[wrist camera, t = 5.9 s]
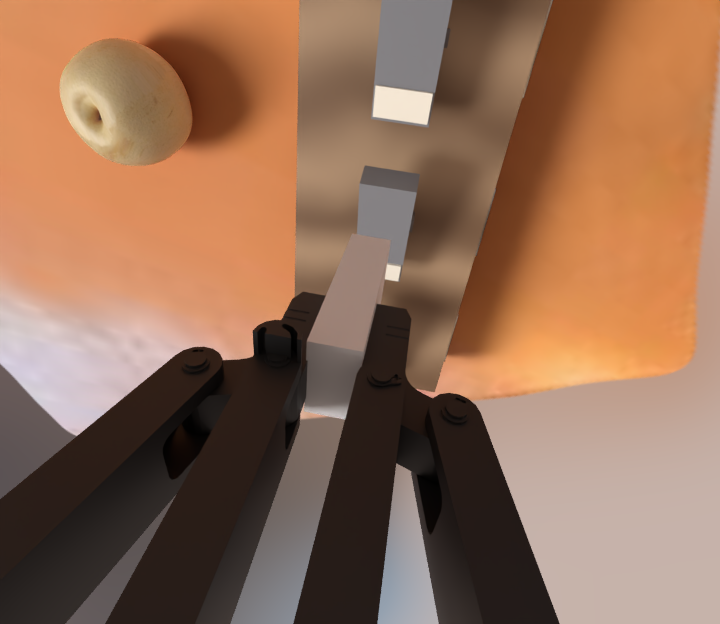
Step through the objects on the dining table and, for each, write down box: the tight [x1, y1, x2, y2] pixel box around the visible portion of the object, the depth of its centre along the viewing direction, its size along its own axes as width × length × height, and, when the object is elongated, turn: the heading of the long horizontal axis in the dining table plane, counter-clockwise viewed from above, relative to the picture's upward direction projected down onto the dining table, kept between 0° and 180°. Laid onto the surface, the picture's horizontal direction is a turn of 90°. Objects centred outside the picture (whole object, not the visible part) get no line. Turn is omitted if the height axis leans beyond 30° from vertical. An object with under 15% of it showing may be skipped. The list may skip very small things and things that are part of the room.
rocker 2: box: [357, 166, 420, 282], centre depth 28 cm, size 8×3×2 cm, turn 173°
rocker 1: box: [371, 0, 453, 128], centre depth 21 cm, size 8×3×2 cm, turn 173°
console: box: [295, 0, 553, 392], centre depth 31 cm, size 32×13×6 cm, turn 174°
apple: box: [60, 39, 192, 166], centre depth 30 cm, size 8×8×8 cm
